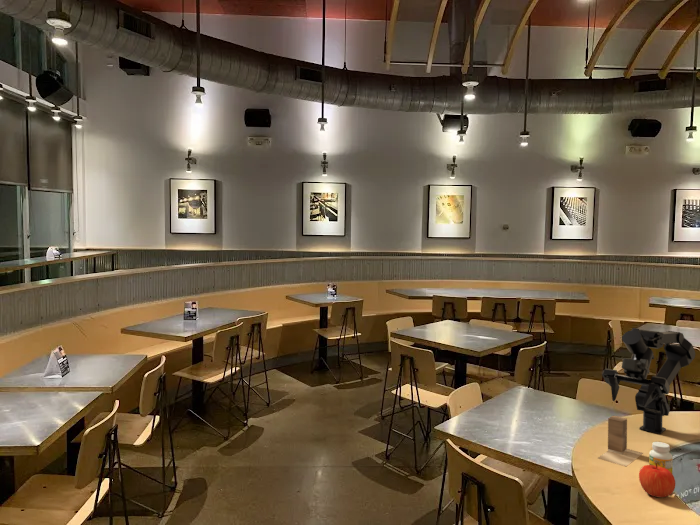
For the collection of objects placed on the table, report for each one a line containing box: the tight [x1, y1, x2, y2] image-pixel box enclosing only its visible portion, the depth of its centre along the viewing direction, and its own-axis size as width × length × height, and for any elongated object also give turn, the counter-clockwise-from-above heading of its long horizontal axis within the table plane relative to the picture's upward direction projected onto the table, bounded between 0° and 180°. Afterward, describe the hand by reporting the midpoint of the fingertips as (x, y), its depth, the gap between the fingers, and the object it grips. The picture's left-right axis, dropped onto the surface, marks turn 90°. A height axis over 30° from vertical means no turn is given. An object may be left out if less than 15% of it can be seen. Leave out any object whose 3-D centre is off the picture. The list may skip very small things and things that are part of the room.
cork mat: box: [597, 448, 644, 467], centre depth 154 cm, size 14×8×1 cm, turn 133°
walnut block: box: [607, 415, 628, 455], centre depth 157 cm, size 4×4×10 cm
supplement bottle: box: [648, 441, 674, 475], centre depth 139 cm, size 5×5×10 cm
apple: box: [638, 463, 676, 498], centre depth 130 cm, size 8×8×8 cm
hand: (628, 403), depth 163 cm, fingers open, 9 cm apart
